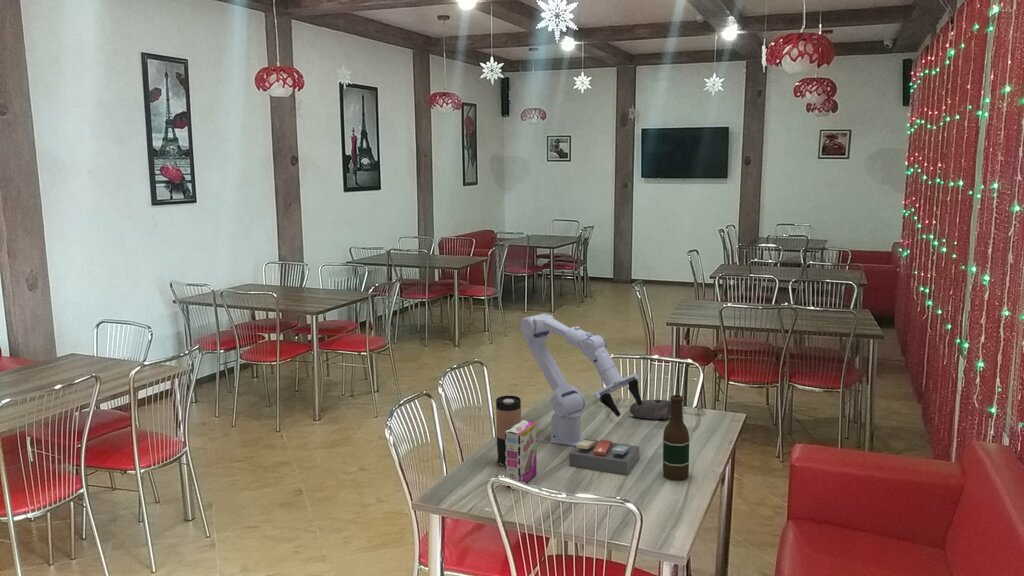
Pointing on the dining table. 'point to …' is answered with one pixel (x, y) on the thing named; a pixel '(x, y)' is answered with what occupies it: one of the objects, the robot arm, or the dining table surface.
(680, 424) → the beer bottle
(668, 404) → the perforated stone tool
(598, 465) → the rocker switch panel
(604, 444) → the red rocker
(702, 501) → the dining table surface
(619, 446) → the slate rocker
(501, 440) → the travel mug
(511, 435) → the candy bar box
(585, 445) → the block
